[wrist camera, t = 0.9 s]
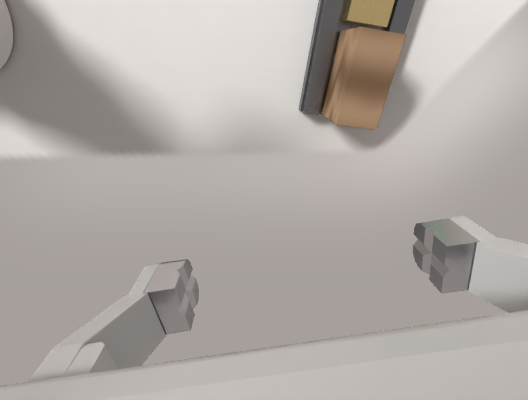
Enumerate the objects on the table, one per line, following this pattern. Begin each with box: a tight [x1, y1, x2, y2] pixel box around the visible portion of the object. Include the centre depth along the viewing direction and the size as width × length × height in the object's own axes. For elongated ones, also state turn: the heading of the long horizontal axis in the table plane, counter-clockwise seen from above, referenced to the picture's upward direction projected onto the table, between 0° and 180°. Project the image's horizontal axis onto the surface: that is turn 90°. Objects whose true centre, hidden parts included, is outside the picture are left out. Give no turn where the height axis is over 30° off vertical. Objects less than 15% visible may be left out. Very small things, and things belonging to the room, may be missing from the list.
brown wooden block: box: [321, 27, 406, 130], centre depth 34 cm, size 10×5×7 cm, turn 172°
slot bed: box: [299, 0, 415, 115], centre depth 35 cm, size 22×11×2 cm, turn 172°
